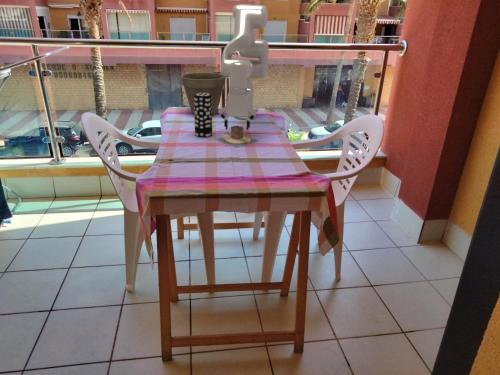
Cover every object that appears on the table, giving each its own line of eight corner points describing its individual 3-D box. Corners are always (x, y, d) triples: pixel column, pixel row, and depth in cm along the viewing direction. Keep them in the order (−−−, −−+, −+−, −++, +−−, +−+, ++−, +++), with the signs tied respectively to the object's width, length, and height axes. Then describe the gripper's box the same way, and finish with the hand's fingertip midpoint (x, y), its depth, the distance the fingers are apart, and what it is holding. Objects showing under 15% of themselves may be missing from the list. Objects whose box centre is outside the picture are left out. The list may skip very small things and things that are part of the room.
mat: (237, 134, 184) (237, 133, 184) (259, 141, 175) (259, 140, 174) (214, 140, 174) (214, 139, 174) (236, 148, 165) (236, 147, 164)
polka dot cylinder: (213, 134, 183) (213, 93, 174) (210, 139, 176) (210, 96, 167) (197, 132, 184) (196, 92, 175) (193, 138, 176) (191, 95, 168)
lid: (237, 134, 182) (237, 121, 180) (256, 140, 174) (256, 127, 172) (217, 139, 174) (217, 126, 171) (236, 146, 166) (236, 133, 163)
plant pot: (174, 115, 212) (172, 76, 203) (194, 106, 233) (193, 70, 224) (214, 120, 205) (214, 80, 195) (231, 111, 226) (232, 74, 217)
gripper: (257, 90, 168) (255, 127, 175) (219, 89, 167) (218, 126, 174) (257, 93, 161) (255, 131, 168) (217, 92, 160) (217, 130, 168)
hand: (237, 128), depth 171 cm, fingers open, 9 cm apart
